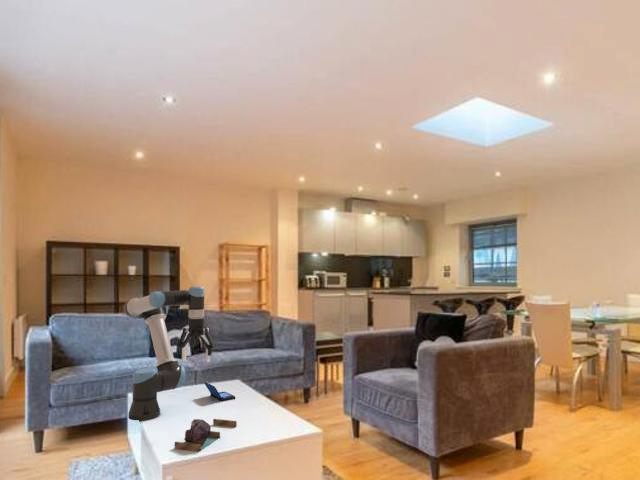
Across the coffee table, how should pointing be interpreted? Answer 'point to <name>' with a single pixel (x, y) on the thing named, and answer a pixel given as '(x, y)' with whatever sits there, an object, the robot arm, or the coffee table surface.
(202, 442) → the rock
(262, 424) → the coffee table surface
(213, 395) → the handheld game console
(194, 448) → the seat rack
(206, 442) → the marked pad
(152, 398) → the robot arm
